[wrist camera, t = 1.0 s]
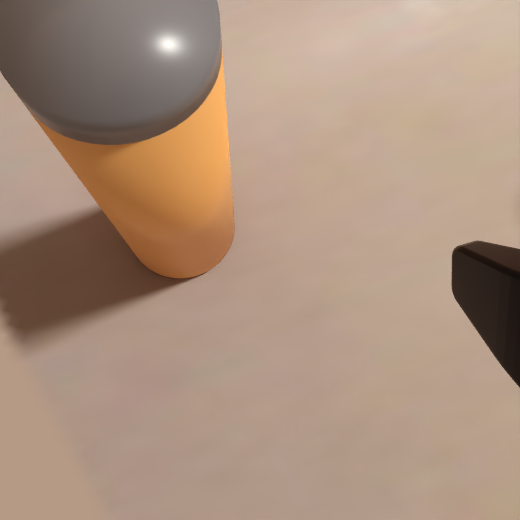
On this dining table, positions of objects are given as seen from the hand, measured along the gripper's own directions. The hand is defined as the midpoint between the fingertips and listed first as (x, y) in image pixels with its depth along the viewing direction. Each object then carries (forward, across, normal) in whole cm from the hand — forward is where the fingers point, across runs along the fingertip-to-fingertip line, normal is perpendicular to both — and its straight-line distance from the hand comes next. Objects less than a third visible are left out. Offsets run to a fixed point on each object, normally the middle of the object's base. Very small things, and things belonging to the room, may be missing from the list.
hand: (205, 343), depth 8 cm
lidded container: (+15, 0, +5) cm, 16 cm away
